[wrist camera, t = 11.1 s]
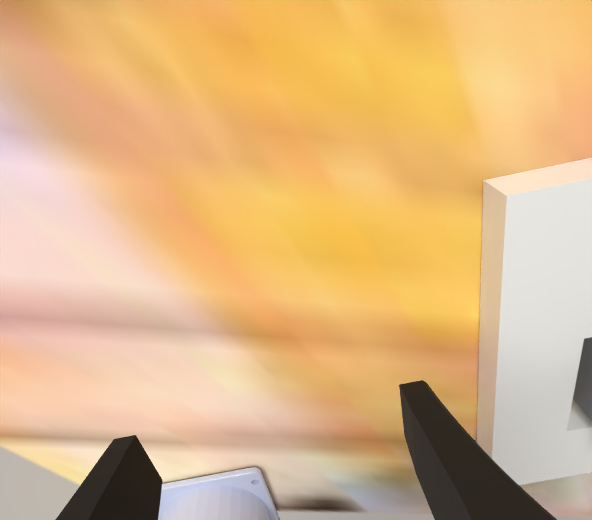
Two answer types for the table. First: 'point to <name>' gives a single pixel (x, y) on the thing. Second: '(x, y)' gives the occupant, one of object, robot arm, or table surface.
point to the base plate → (535, 321)
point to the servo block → (585, 379)
